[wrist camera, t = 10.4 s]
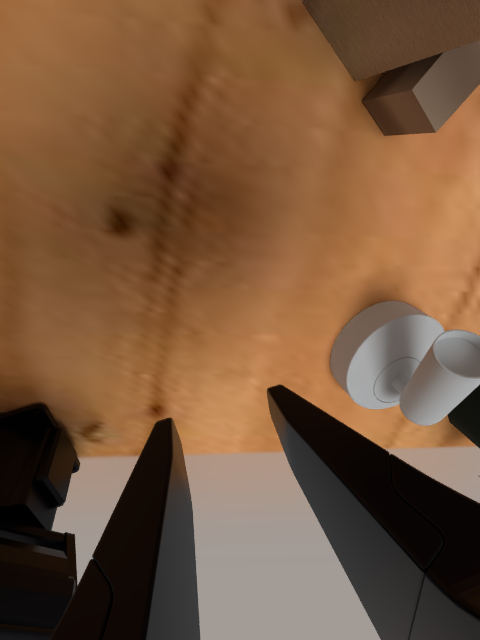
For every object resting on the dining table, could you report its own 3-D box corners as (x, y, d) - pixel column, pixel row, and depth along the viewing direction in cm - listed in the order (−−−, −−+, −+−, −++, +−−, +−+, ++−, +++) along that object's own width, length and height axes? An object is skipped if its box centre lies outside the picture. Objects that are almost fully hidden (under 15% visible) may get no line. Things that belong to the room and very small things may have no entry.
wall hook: (562, 327, 17) (528, 450, 22) (423, 268, 25) (422, 368, 30) (411, 391, 16) (412, 503, 21) (320, 309, 24) (336, 403, 29)
